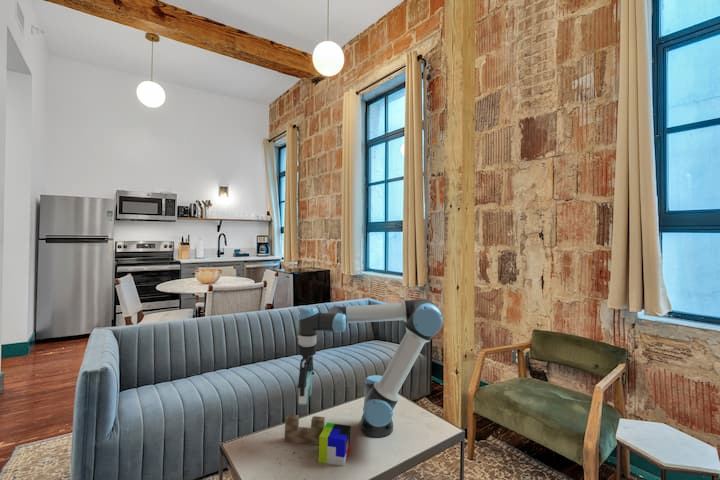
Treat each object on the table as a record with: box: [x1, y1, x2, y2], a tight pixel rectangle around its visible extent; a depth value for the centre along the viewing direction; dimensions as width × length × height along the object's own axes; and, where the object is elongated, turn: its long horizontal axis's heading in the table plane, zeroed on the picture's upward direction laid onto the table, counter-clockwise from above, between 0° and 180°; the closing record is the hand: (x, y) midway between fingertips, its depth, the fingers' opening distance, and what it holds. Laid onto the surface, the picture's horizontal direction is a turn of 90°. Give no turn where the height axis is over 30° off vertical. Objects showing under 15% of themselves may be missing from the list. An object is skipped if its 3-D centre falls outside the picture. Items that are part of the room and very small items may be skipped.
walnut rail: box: [284, 413, 326, 445], centre depth 146 cm, size 16×3×10 cm, turn 86°
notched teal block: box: [298, 371, 313, 406], centre depth 146 cm, size 11×3×10 cm, turn 176°
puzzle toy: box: [318, 422, 352, 467], centre depth 137 cm, size 10×10×10 cm
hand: (305, 396), depth 146 cm, fingers closed on notched teal block, 11 cm apart
